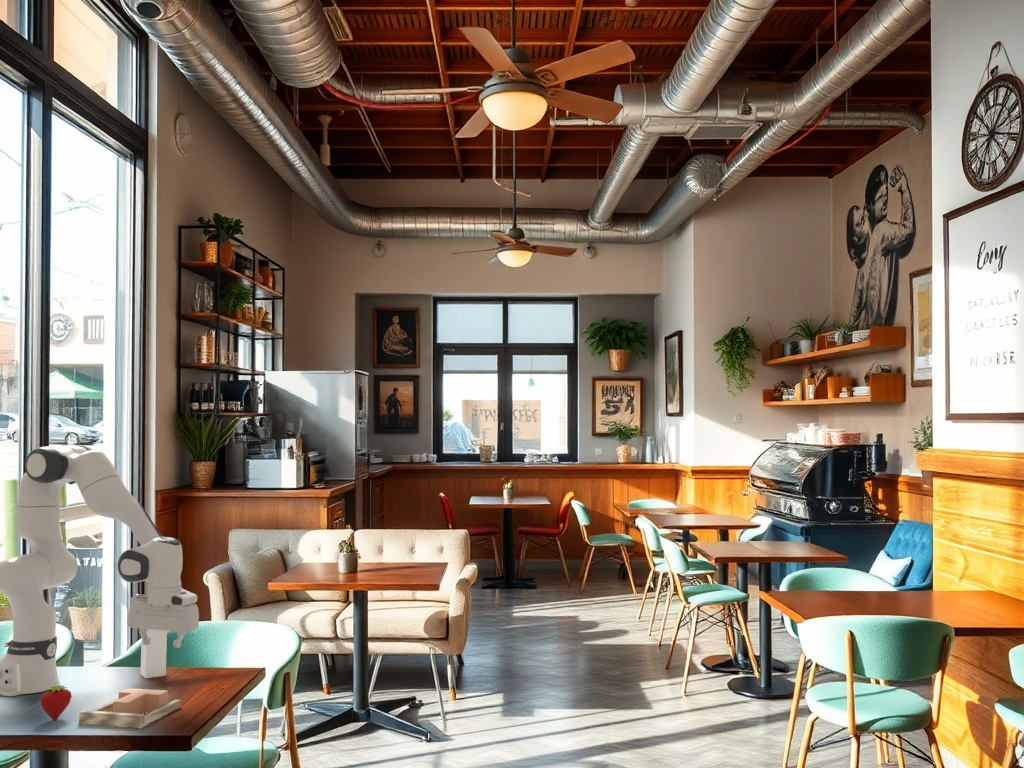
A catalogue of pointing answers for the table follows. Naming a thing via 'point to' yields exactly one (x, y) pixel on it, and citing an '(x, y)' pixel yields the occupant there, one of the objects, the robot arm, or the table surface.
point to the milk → (154, 654)
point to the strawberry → (55, 701)
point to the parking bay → (124, 716)
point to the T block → (140, 701)
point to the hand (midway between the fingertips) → (161, 645)
